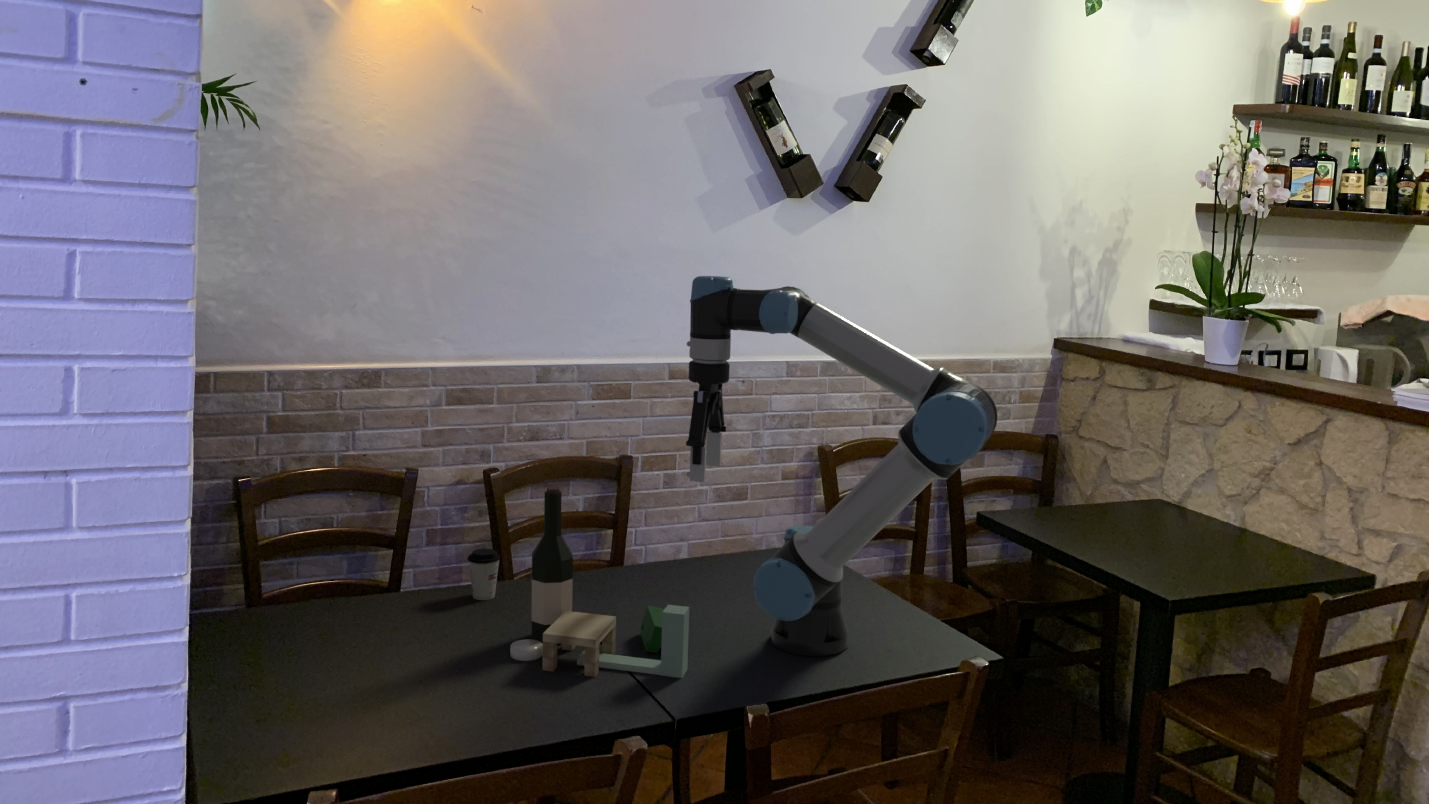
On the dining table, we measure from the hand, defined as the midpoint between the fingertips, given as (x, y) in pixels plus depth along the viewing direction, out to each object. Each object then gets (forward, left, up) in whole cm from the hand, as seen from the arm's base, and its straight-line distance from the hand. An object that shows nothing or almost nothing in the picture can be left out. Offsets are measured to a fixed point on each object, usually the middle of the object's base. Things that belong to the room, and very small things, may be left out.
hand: (705, 473), depth 200 cm
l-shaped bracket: (+10, +12, -35) cm, 38 cm away
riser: (+20, +12, -35) cm, 42 cm away
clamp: (+8, -1, -35) cm, 36 cm away
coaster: (+31, +12, -35) cm, 48 cm away
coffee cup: (+51, -15, -35) cm, 64 cm away
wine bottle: (+29, +3, -35) cm, 45 cm away
